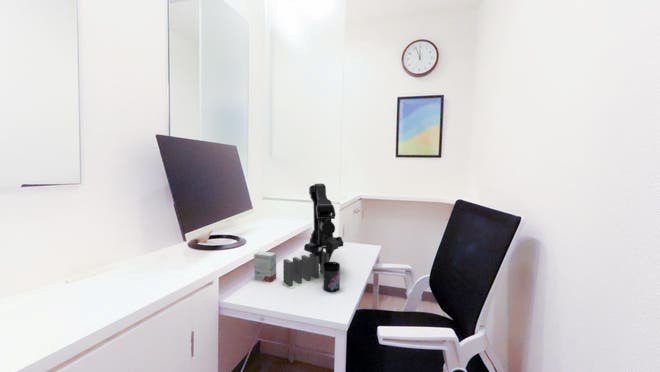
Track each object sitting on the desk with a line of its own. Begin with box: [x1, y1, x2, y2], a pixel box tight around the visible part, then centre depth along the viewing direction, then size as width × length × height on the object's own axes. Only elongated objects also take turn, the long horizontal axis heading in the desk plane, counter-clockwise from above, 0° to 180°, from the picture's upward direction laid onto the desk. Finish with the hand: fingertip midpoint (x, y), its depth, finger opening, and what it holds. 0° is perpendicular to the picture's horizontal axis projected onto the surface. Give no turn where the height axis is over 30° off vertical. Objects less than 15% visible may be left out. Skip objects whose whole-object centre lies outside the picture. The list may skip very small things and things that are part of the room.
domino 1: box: [282, 258, 293, 288], centre depth 120 cm, size 5×2×10 cm, turn 38°
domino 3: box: [300, 254, 311, 281], centre depth 125 cm, size 5×2×10 cm, turn 38°
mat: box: [280, 270, 323, 289], centre depth 127 cm, size 9×24×1 cm, turn 128°
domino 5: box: [319, 250, 330, 274], centre depth 131 cm, size 5×2×10 cm, turn 39°
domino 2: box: [292, 256, 302, 284], centre depth 122 cm, size 5×2×10 cm, turn 38°
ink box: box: [253, 250, 277, 283], centre depth 125 cm, size 9×5×12 cm, turn 71°
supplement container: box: [322, 261, 341, 293], centre depth 116 cm, size 7×7×10 cm
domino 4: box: [308, 253, 320, 279], centre depth 128 cm, size 5×2×10 cm, turn 38°
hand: (324, 263), depth 131 cm, fingers open, 4 cm apart
